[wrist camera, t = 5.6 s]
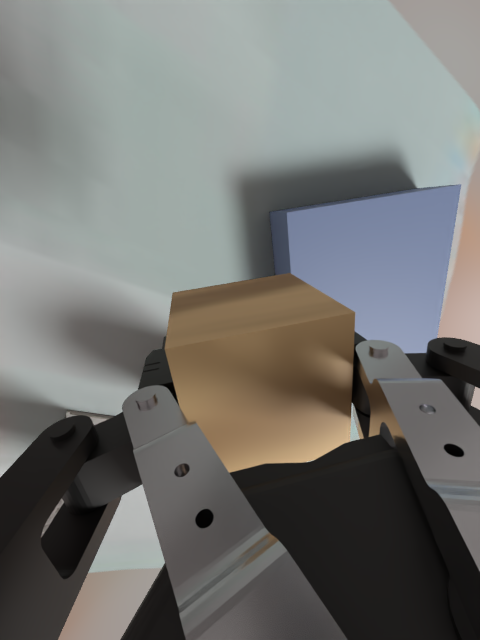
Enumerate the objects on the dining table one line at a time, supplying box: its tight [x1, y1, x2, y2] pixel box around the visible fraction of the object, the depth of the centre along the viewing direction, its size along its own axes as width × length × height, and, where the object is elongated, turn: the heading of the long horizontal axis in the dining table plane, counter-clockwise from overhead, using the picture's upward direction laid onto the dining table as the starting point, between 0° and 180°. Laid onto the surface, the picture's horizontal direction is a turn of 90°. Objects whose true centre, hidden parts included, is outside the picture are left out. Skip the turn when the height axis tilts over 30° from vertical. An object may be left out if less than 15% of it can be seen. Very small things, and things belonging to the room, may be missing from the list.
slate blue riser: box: [270, 184, 461, 353], centre depth 30 cm, size 20×16×5 cm
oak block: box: [165, 273, 355, 473], centre depth 10 cm, size 5×5×5 cm
